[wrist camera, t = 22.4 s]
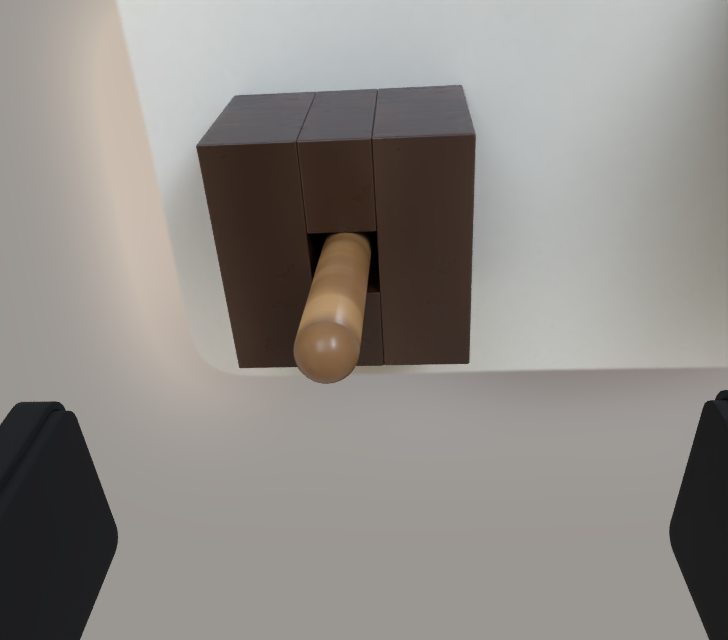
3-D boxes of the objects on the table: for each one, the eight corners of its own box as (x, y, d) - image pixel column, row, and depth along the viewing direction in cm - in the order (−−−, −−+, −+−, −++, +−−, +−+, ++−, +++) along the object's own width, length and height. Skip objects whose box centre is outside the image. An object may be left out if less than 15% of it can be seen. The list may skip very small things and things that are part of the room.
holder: (265, 290, 37) (239, 368, 31) (234, 95, 32) (195, 145, 26) (459, 285, 37) (469, 364, 31) (462, 84, 31) (476, 133, 25)
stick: (328, 207, 34) (275, 371, 20) (352, 176, 34) (315, 323, 19) (360, 231, 35) (330, 407, 21) (384, 201, 34) (371, 363, 20)
